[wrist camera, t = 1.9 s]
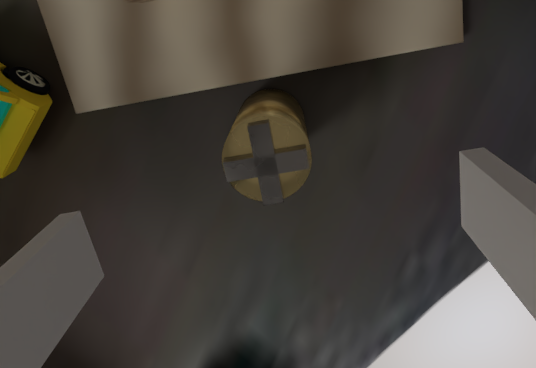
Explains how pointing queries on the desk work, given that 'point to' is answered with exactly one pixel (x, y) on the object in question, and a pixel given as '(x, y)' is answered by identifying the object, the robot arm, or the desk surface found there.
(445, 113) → the desk surface
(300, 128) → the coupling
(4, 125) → the toy car
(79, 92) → the shaft rig
